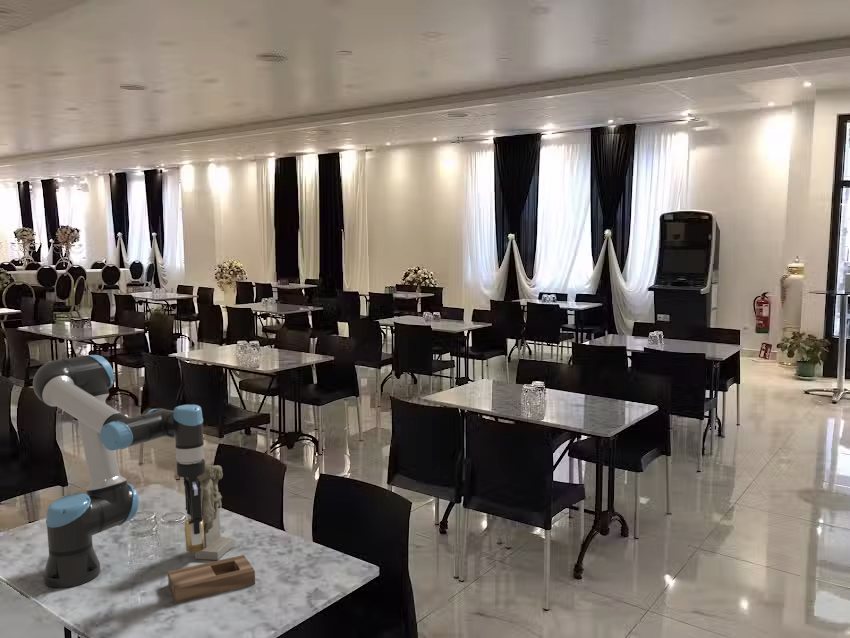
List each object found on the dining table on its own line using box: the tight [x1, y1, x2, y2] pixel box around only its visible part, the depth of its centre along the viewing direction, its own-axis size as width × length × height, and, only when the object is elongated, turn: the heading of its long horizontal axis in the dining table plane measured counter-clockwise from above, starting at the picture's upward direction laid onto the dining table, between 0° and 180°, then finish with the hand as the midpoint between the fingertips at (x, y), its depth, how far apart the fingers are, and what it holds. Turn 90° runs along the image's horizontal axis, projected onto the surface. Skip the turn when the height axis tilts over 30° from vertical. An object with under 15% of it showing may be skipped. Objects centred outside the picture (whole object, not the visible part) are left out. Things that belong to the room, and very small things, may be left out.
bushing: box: [184, 519, 205, 553], centre depth 199 cm, size 5×5×8 cm
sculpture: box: [194, 463, 235, 561], centre depth 222 cm, size 15×8×30 cm, turn 168°
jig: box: [167, 554, 256, 604], centre depth 203 cm, size 12×22×4 cm, turn 119°
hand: (195, 540), depth 199 cm, fingers closed on bushing, 5 cm apart
